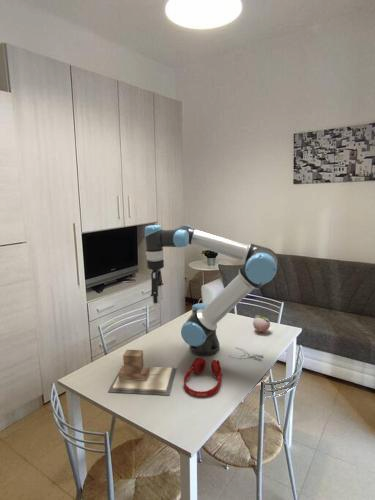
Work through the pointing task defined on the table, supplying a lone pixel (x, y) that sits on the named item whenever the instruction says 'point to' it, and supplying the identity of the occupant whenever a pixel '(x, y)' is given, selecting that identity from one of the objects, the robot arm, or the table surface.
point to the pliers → (254, 356)
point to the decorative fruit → (261, 323)
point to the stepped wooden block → (133, 366)
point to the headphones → (199, 367)
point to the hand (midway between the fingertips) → (158, 303)
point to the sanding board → (146, 383)
